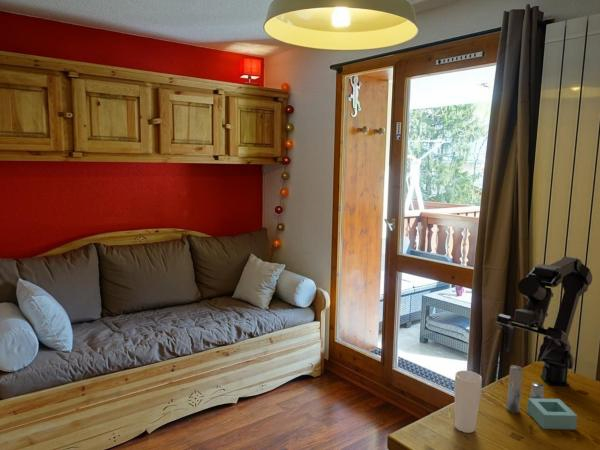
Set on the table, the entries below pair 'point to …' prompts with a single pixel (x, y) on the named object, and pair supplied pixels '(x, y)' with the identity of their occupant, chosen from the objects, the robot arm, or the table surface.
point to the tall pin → (514, 389)
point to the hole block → (552, 413)
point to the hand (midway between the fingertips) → (522, 356)
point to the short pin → (537, 391)
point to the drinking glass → (467, 400)
